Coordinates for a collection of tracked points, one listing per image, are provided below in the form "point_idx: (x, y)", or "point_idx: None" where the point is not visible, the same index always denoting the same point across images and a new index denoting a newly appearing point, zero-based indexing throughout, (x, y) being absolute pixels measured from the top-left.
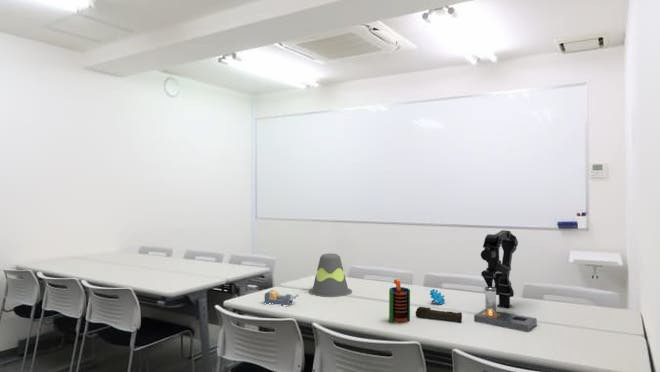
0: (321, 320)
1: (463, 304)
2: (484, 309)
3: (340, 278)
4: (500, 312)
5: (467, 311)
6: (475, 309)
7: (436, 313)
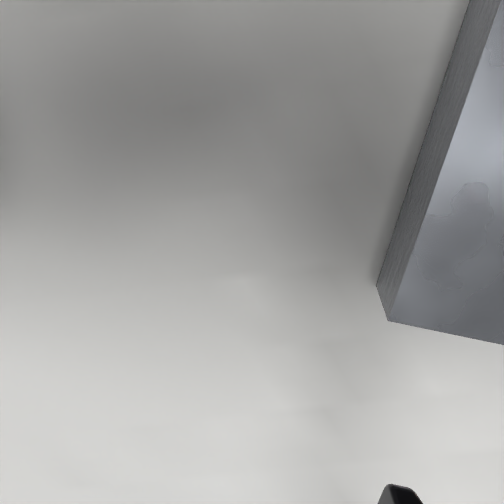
0: None
1: (95, 488)
2: (410, 324)
3: None
4: (496, 108)
5: (317, 439)
6: (204, 389)
7: None
